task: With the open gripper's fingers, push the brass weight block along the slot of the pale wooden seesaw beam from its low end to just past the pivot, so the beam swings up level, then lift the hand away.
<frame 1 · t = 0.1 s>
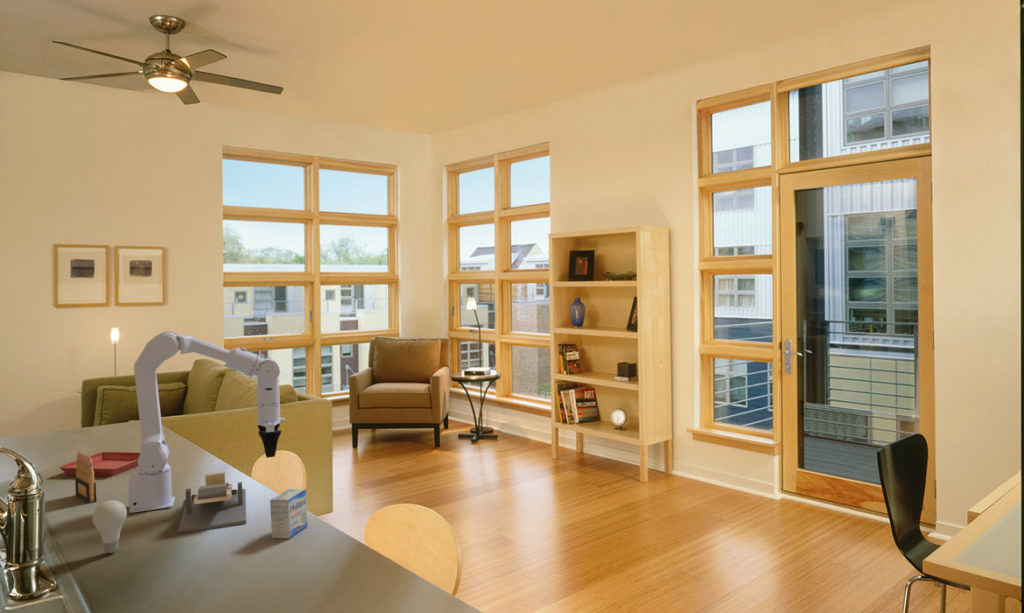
hand: (270, 453, 175), 10 cm above the kitchen counter, tool pointing down, fingers open, 7 cm apart
weight: (215, 490, 166), point 3 cm above the kitchen counter, tilted 10°, touching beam
red tray: (108, 470, 200), on the kitchen counter
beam: (214, 490, 160), point 5 cm above the kitchen counter, hinge at 10.3°, touching weight
ammunition clip: (86, 499, 172), on the kitchen counter
stand: (215, 510, 160), on the kitchen counter
medicine box: (290, 533, 145), on the kitchen counter
lightbulb: (111, 554, 135), on the kitchen counter
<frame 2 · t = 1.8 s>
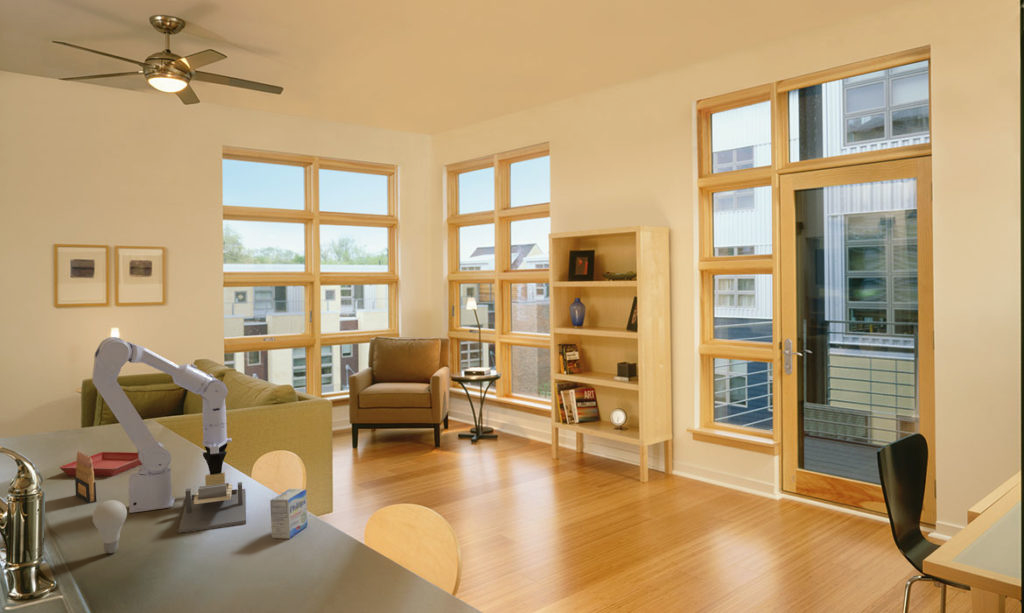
hand: (216, 474, 173), 5 cm above the kitchen counter, tool pointing down, fingers open, 7 cm apart
weight: (215, 490, 166), point 3 cm above the kitchen counter, tilted 10°, touching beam, gripper
everything else where it was.
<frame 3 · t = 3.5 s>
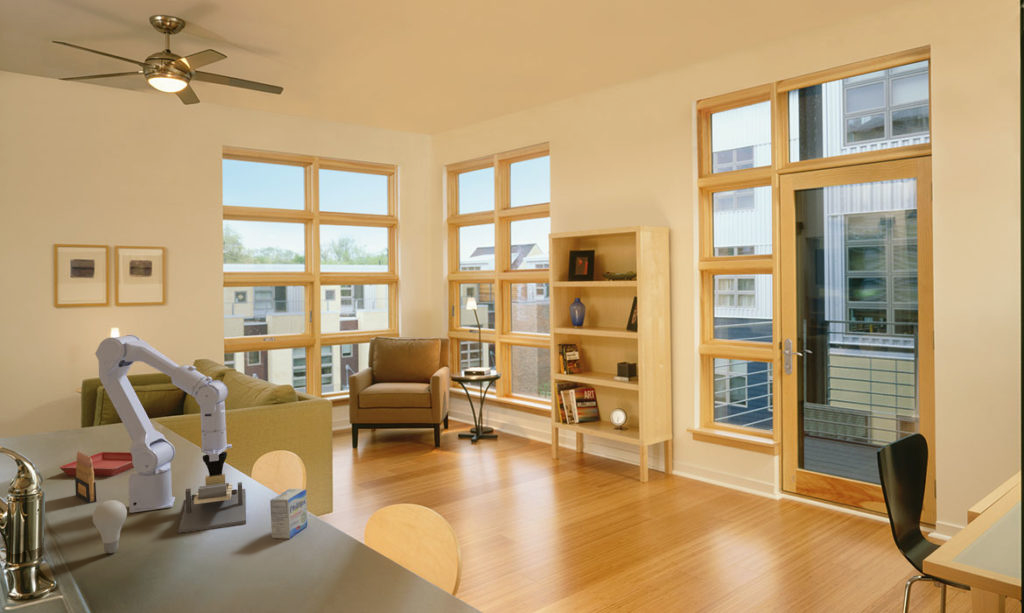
hand: (216, 482, 165), 5 cm above the kitchen counter, tool pointing down, fingers closed, pressing on weight
weight: (215, 491, 162), point 4 cm above the kitchen counter, tilted 10°, touching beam, gripper
everything else where it was.
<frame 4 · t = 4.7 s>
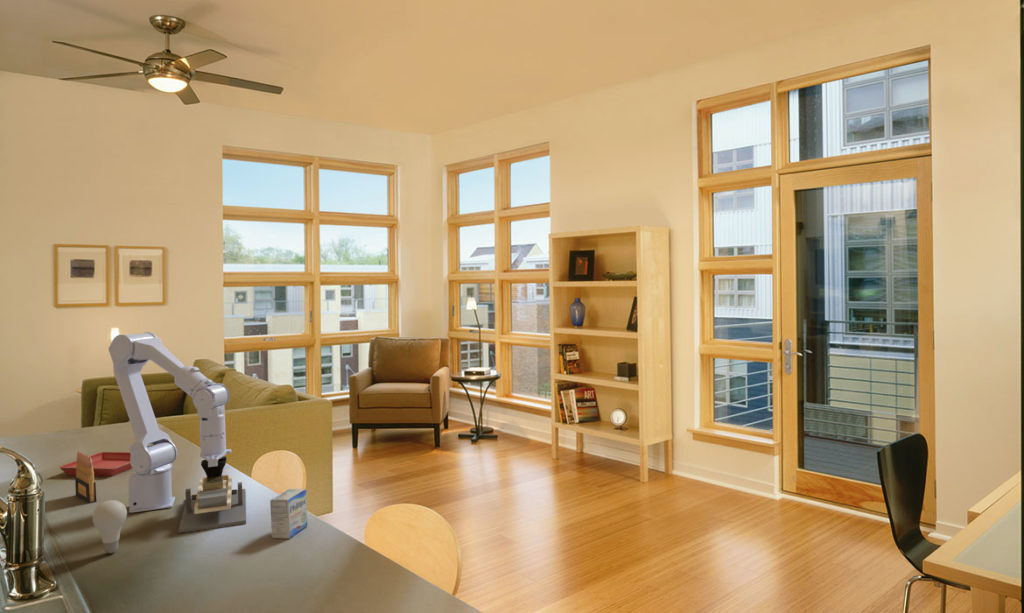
hand: (215, 488, 161), 5 cm above the kitchen counter, tool pointing down, fingers closed
weight: (213, 495, 157), point 5 cm above the kitchen counter, touching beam, gripper
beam: (214, 490, 160), point 5 cm above the kitchen counter, hinge at -0.6°, touching weight
everything else where it was.
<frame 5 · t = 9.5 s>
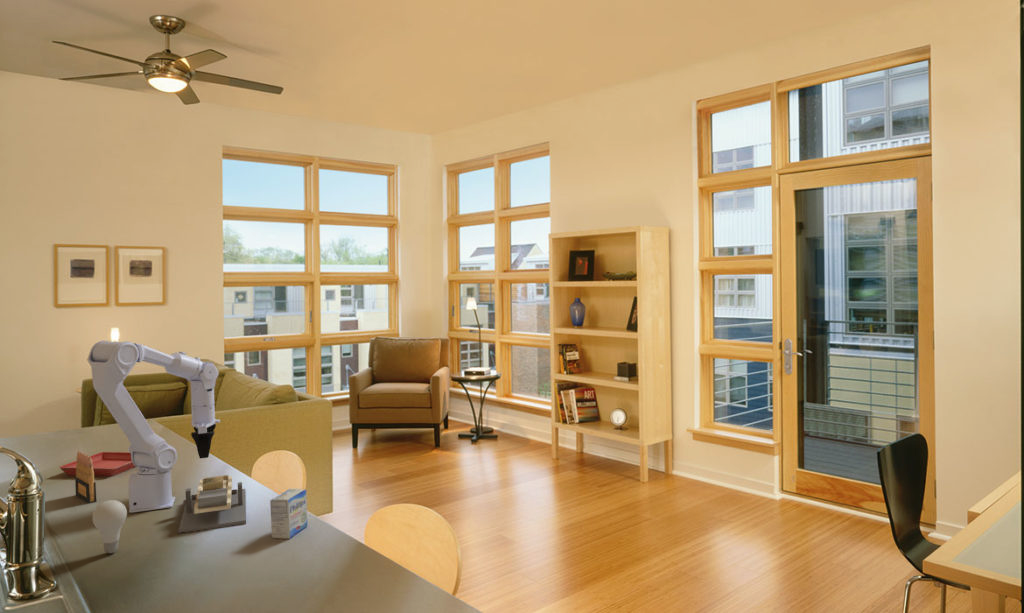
hand: (204, 454, 178), 9 cm above the kitchen counter, tool pointing down, fingers open, 7 cm apart
weight: (213, 496, 157), point 4 cm above the kitchen counter, touching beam
everything else where it was.
at the end: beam at +0° (first picture: +10°); weight 1.0 cm from the target spot on the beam, point 0.4 cm above the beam's base; weight tilted 0° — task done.
